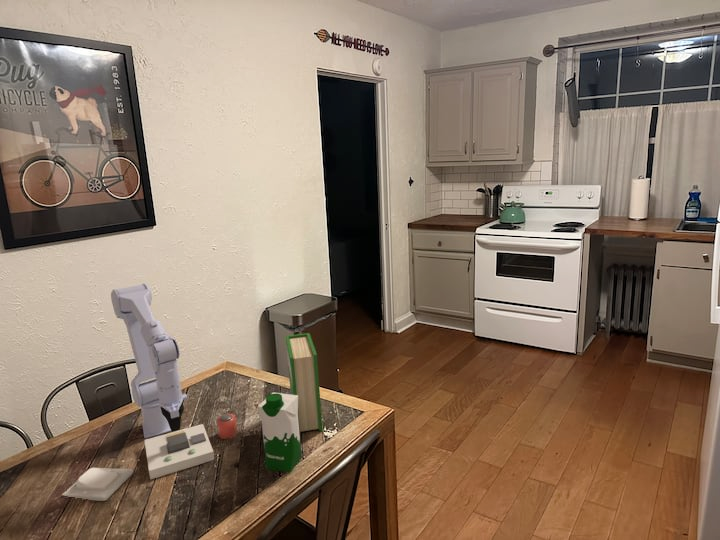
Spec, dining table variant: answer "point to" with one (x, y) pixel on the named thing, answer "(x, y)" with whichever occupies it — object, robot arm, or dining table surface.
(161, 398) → the robot arm
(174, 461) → the panel
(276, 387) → the dining table surface
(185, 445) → the button
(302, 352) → the hardback book
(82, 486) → the light switch
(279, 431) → the milk carton
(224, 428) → the cap
